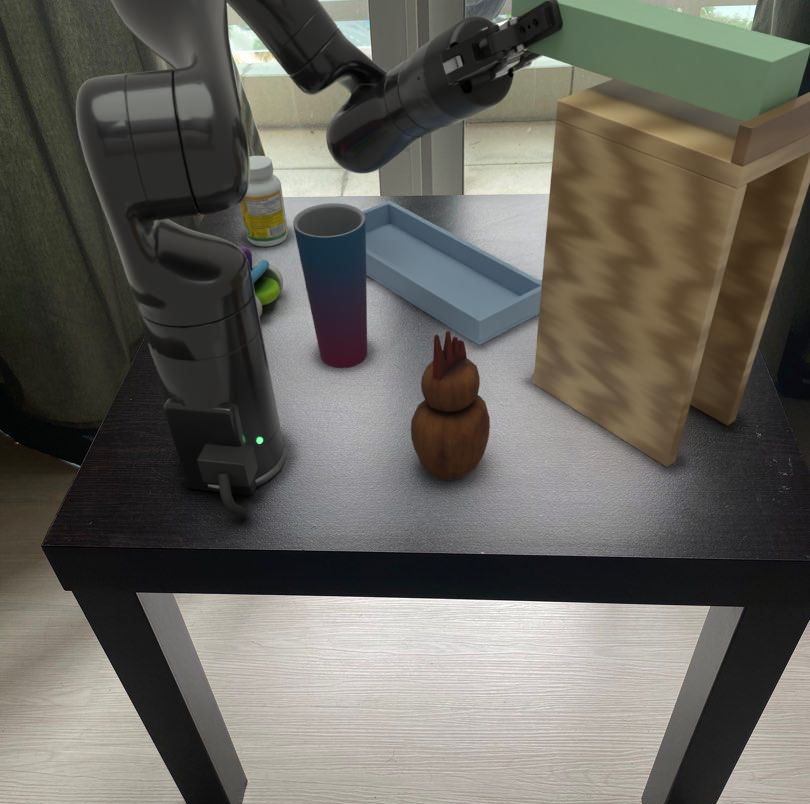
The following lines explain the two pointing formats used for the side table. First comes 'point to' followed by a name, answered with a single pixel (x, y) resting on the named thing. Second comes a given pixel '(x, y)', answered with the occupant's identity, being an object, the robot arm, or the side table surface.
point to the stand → (663, 256)
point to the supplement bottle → (264, 205)
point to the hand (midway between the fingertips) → (579, 6)
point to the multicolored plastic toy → (264, 280)
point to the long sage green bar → (676, 54)
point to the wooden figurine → (450, 414)
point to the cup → (335, 279)
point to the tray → (447, 274)
